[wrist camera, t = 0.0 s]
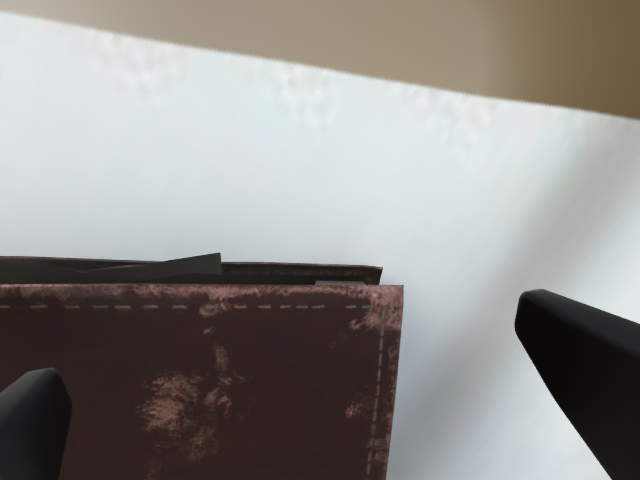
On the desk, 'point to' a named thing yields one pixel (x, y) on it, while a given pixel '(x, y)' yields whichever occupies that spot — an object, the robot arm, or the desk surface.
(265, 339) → the diary
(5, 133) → the desk surface
